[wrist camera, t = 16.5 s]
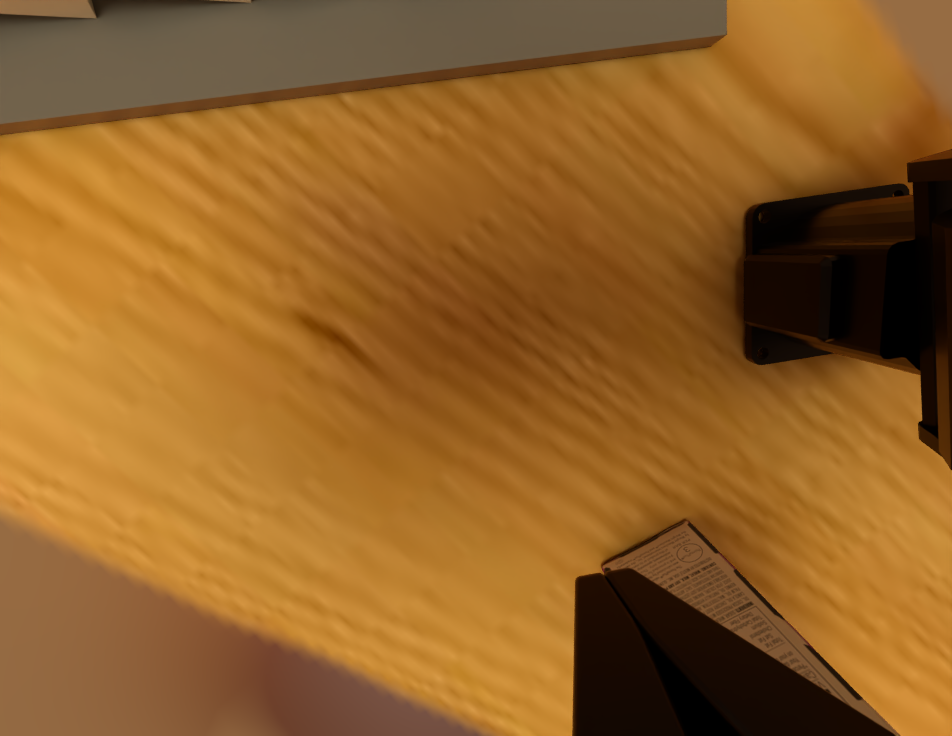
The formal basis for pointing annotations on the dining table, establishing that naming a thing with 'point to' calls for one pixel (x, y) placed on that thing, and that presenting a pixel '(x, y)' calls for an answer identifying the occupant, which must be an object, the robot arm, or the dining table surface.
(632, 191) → the dining table surface
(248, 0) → the domino
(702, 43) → the metal plate
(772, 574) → the dining table surface
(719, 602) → the candy bar box
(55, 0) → the domino
